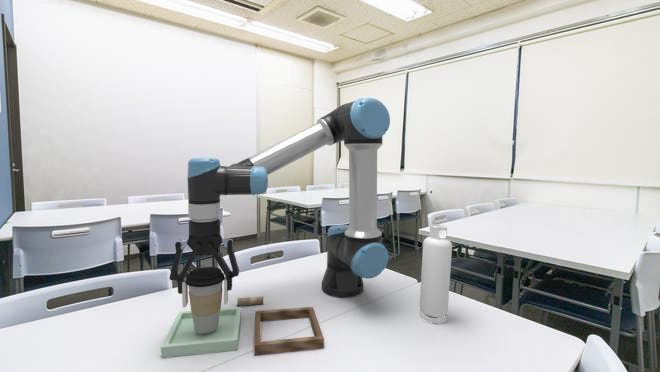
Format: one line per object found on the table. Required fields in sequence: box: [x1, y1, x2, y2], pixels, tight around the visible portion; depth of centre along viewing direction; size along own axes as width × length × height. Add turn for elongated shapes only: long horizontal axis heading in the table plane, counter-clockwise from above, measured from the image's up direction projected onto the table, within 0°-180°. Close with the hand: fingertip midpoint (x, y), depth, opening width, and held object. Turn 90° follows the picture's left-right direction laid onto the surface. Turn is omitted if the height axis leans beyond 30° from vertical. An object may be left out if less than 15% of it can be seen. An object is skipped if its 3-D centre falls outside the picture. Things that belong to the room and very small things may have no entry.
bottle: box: [418, 223, 453, 324], centre depth 95 cm, size 8×8×28 cm
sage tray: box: [160, 306, 242, 359], centre depth 84 cm, size 17×17×3 cm
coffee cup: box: [185, 266, 225, 334], centre depth 83 cm, size 9×9×15 cm
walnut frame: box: [253, 306, 325, 356], centre depth 85 cm, size 17×17×2 cm
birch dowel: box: [236, 295, 264, 307], centre depth 101 cm, size 8×2×2 cm, turn 102°
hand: (206, 303), depth 83 cm, fingers closed on coffee cup, 9 cm apart
